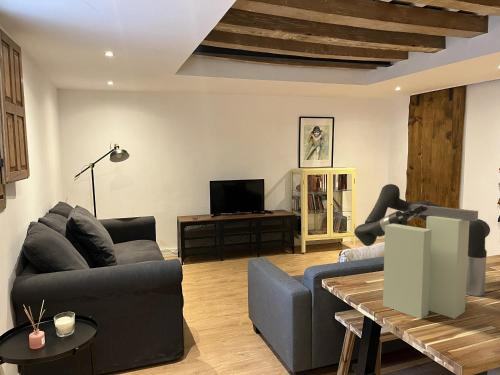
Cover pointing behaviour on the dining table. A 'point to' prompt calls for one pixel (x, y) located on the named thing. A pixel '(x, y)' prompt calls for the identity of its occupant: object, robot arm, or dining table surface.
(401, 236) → the block
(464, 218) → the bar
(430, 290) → the stand
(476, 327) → the dining table surface
